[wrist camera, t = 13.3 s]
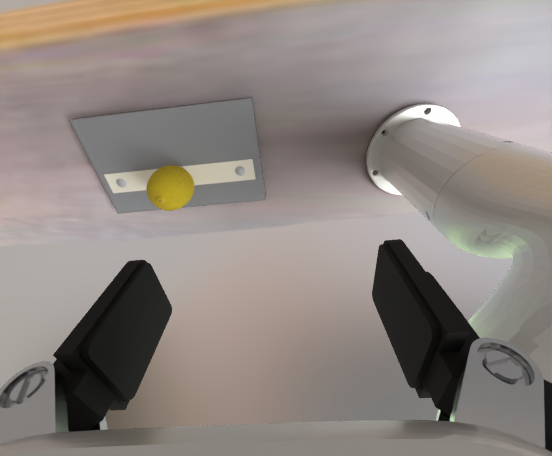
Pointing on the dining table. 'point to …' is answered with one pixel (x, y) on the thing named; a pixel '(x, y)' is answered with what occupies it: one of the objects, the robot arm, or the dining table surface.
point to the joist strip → (198, 172)
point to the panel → (175, 148)
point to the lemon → (170, 187)
